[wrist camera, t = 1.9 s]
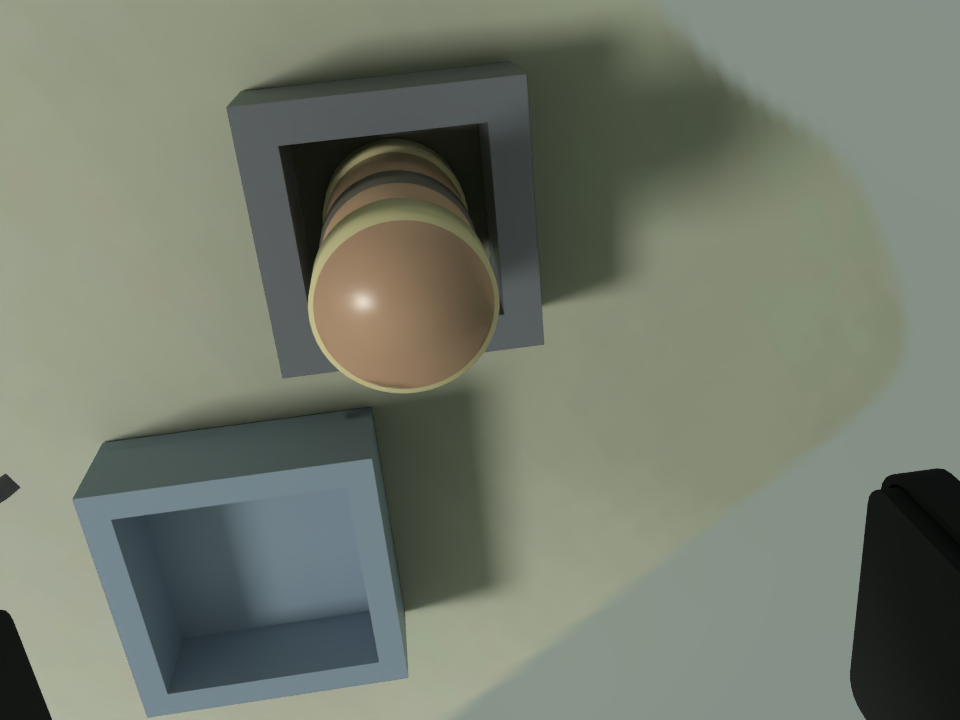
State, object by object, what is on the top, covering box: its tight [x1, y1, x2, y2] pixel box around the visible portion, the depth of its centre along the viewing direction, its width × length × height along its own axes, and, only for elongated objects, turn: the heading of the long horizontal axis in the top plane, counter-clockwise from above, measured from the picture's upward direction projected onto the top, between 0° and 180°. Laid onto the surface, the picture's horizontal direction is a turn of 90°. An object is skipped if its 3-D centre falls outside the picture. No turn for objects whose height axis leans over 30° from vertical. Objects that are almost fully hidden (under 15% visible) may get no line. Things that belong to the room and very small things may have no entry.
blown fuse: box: [308, 138, 500, 393], centre depth 21 cm, size 4×4×8 cm
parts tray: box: [72, 407, 408, 718], centre depth 27 cm, size 8×8×3 cm
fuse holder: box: [226, 62, 544, 378], centre depth 23 cm, size 7×7×2 cm
